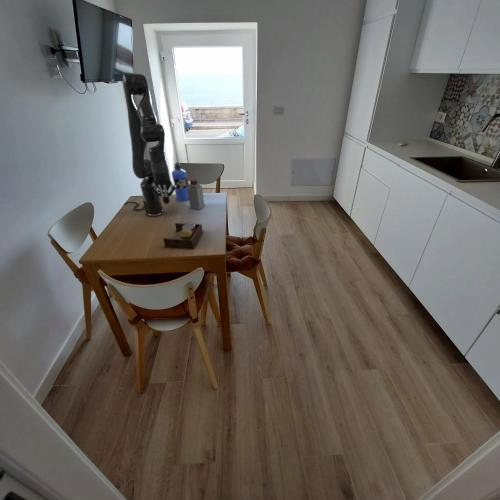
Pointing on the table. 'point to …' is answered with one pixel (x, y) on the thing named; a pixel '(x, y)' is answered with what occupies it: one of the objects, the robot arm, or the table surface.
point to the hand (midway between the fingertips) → (166, 203)
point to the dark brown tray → (184, 242)
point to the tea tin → (186, 234)
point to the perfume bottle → (195, 195)
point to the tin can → (190, 227)
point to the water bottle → (180, 183)
